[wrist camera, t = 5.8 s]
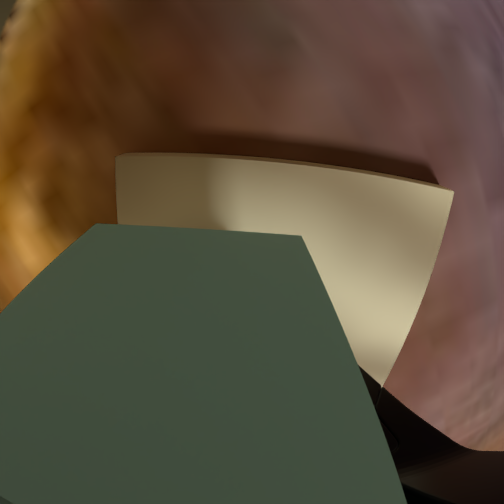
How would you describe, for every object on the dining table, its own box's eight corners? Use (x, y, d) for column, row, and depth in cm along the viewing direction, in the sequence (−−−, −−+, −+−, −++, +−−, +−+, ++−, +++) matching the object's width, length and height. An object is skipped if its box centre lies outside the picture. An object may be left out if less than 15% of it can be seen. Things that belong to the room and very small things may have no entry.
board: (346, 430, 17) (349, 442, 16) (161, 427, 16) (158, 439, 15) (440, 185, 10) (454, 191, 9) (126, 152, 10) (115, 156, 9)
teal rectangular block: (274, 381, 9) (294, 574, 3) (122, 368, 9) (68, 542, 3) (301, 235, 7) (416, 532, 1) (96, 223, 7) (-85, 429, 1)
